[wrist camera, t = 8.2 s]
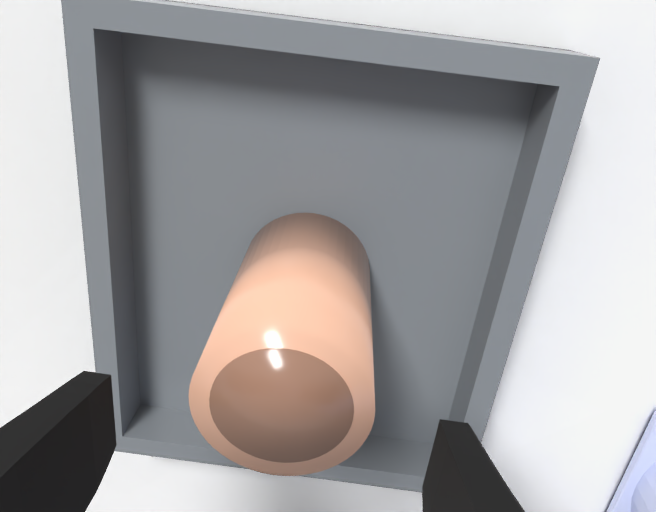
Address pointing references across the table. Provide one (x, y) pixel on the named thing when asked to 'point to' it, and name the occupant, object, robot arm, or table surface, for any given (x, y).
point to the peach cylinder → (291, 352)
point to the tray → (312, 199)
